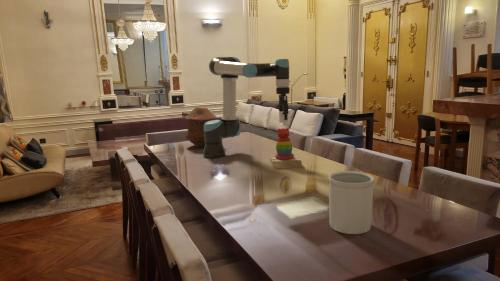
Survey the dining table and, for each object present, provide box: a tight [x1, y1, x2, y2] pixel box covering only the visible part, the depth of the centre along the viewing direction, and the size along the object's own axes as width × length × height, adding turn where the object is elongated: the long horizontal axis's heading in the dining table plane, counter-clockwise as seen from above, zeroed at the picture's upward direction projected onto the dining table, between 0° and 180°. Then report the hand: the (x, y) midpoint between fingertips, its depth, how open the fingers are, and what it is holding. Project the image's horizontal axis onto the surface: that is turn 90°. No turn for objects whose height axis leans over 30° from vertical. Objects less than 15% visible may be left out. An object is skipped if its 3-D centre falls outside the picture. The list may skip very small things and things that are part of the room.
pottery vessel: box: [184, 106, 217, 148], centre depth 276 cm, size 26×26×30 cm
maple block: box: [269, 154, 302, 169], centre depth 211 cm, size 16×16×4 cm
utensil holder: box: [327, 170, 375, 235], centre depth 122 cm, size 15×15×18 cm
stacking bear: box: [274, 127, 295, 160], centre depth 209 cm, size 11×10×18 cm
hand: (283, 124), depth 207 cm, fingers open, 13 cm apart
